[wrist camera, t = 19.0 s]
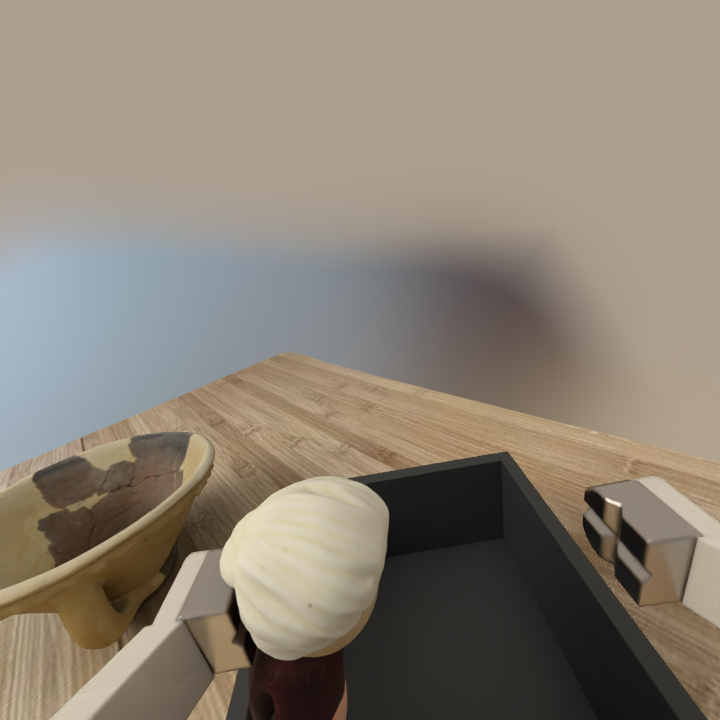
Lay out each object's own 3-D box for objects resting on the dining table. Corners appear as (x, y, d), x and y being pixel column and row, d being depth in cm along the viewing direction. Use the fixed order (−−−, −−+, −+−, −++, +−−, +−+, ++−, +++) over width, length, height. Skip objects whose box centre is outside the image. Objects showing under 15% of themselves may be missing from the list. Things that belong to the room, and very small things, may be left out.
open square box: (509, 537, 25) (507, 450, 23) (731, 946, 11) (804, 846, 8) (309, 570, 26) (282, 489, 23) (260, 1007, 11) (171, 932, 8)
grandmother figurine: (364, 914, 9) (566, 808, 3) (217, 976, 8) (128, 983, 2) (328, 606, 16) (374, 384, 10) (242, 620, 15) (237, 382, 9)
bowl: (259, 606, 24) (216, 504, 20) (-81, 801, 17) (-226, 698, 14) (234, 473, 39) (206, 401, 36) (48, 550, 33) (-7, 472, 29)
